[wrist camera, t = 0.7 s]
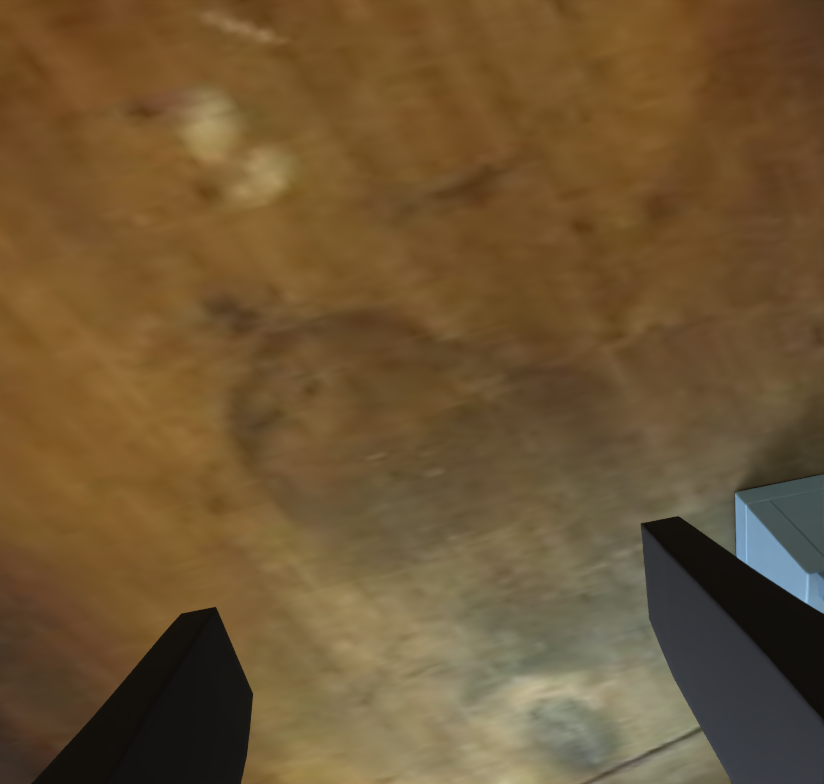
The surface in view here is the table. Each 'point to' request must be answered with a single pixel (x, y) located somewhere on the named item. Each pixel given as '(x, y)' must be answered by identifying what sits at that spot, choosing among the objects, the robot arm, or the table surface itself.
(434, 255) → the table surface
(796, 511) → the cooler
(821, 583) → the lid
